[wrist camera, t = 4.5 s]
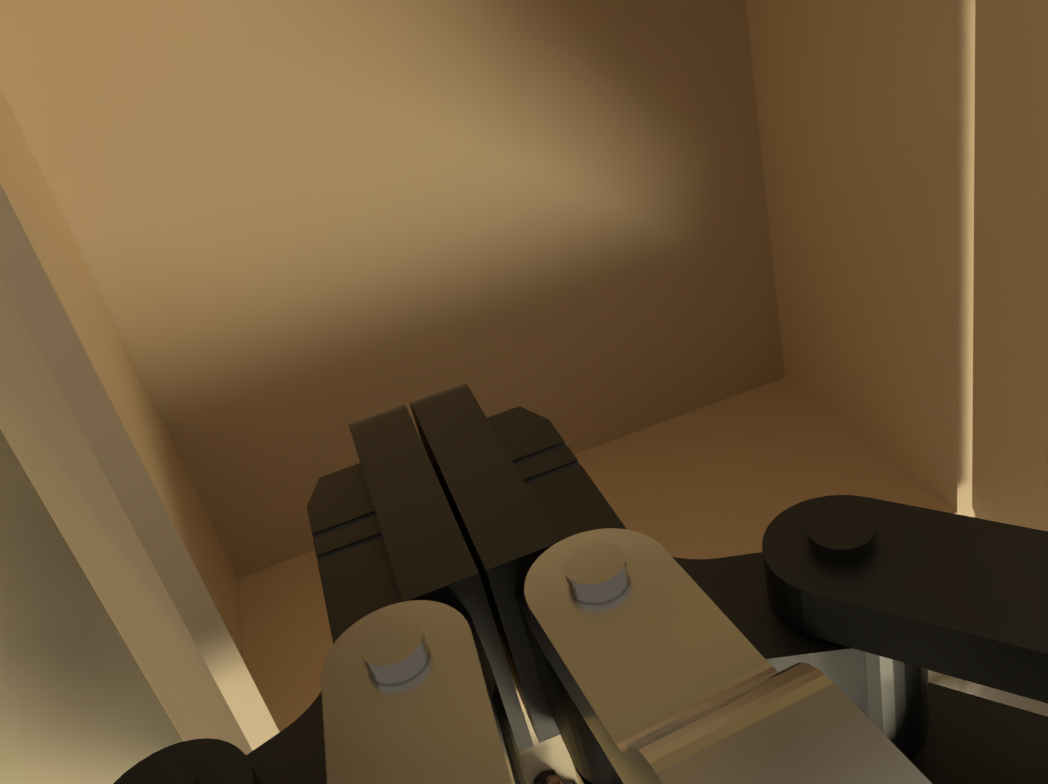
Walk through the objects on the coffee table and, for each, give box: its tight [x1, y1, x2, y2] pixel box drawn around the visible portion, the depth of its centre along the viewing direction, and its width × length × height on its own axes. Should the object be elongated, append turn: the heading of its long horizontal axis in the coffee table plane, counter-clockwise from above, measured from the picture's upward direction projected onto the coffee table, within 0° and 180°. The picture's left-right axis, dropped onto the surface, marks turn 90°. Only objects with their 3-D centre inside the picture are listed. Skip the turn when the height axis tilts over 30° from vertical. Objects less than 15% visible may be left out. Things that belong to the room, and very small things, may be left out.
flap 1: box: [0, 184, 279, 755], centre depth 11 cm, size 1×13×6 cm, turn 14°
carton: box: [0, 0, 975, 732], centre depth 18 cm, size 15×15×7 cm
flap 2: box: [972, 0, 1048, 531], centre depth 13 cm, size 1×13×6 cm, turn 12°
